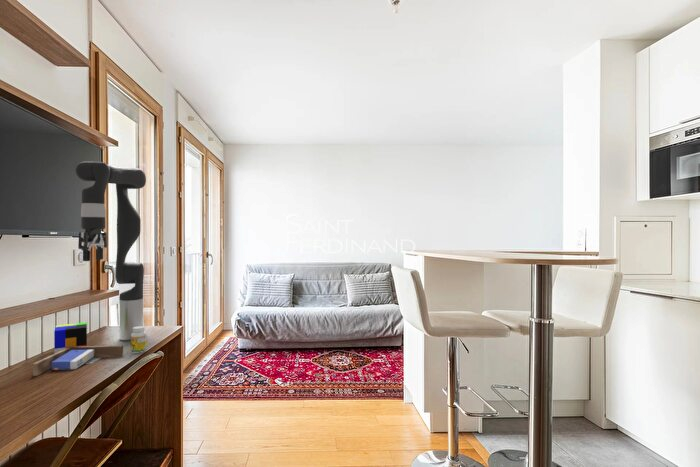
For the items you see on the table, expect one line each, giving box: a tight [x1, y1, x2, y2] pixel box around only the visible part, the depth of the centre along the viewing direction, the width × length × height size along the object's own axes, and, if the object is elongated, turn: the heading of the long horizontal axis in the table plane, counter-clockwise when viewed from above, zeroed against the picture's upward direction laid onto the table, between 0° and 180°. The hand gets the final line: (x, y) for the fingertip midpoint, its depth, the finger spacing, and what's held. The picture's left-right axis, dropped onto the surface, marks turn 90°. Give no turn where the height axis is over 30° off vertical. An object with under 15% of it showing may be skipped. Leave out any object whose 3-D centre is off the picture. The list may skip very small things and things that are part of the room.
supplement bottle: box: [130, 325, 148, 354], centre depth 155 cm, size 5×5×10 cm
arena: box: [32, 345, 124, 377], centre depth 139 cm, size 19×19×4 cm
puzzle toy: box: [53, 322, 88, 354], centre depth 154 cm, size 10×10×10 cm
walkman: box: [51, 349, 94, 371], centre depth 140 cm, size 8×3×12 cm
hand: (93, 260), depth 146 cm, fingers open, 8 cm apart
